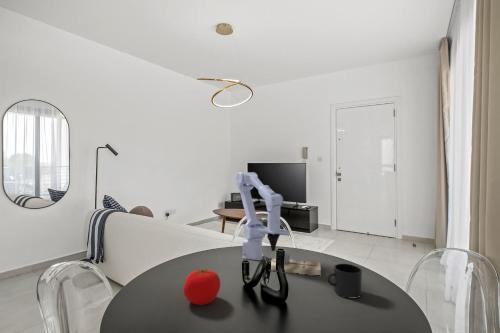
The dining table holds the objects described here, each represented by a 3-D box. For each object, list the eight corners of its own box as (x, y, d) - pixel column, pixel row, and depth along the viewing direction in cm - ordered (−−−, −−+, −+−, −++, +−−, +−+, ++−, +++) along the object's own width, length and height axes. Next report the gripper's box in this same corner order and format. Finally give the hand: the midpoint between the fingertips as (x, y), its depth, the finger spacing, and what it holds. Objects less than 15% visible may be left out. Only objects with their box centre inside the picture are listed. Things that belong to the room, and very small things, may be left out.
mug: (323, 286, 101) (324, 263, 101) (355, 287, 101) (355, 263, 101) (331, 298, 92) (331, 272, 92) (365, 299, 91) (366, 273, 92)
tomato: (176, 305, 85) (177, 273, 85) (198, 290, 96) (199, 261, 96) (206, 314, 80) (206, 279, 80) (225, 296, 91) (226, 266, 92)
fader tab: (282, 263, 118) (282, 255, 118) (283, 259, 122) (283, 252, 122) (289, 263, 117) (289, 255, 117) (289, 260, 121) (290, 252, 121)
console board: (268, 270, 116) (269, 264, 116) (272, 262, 126) (272, 257, 126) (320, 276, 111) (320, 270, 111) (320, 267, 120) (320, 262, 121)
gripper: (256, 221, 119) (256, 251, 119) (288, 223, 115) (288, 254, 115) (259, 218, 126) (259, 247, 125) (290, 220, 122) (289, 249, 122)
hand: (273, 250), depth 121 cm, fingers closed
